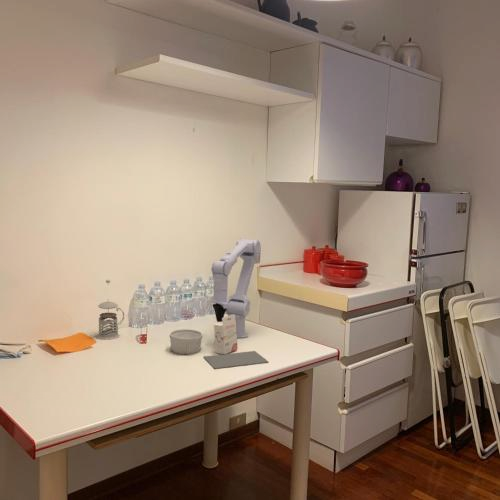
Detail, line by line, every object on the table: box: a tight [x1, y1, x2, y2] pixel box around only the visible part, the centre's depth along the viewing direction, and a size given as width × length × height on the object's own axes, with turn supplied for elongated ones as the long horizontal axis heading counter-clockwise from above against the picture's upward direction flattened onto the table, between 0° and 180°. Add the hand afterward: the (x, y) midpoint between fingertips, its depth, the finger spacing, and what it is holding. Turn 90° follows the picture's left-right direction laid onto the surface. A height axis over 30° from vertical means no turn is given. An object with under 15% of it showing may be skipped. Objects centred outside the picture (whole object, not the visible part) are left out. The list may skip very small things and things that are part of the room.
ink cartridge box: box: [213, 314, 238, 355], centre depth 204 cm, size 9×5×15 cm, turn 143°
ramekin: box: [169, 328, 203, 355], centre depth 204 cm, size 13×13×7 cm
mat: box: [203, 350, 270, 370], centre depth 195 cm, size 13×22×1 cm, turn 113°
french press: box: [95, 279, 125, 341], centre depth 217 cm, size 10×12×25 cm
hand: (219, 321), depth 211 cm, fingers closed
